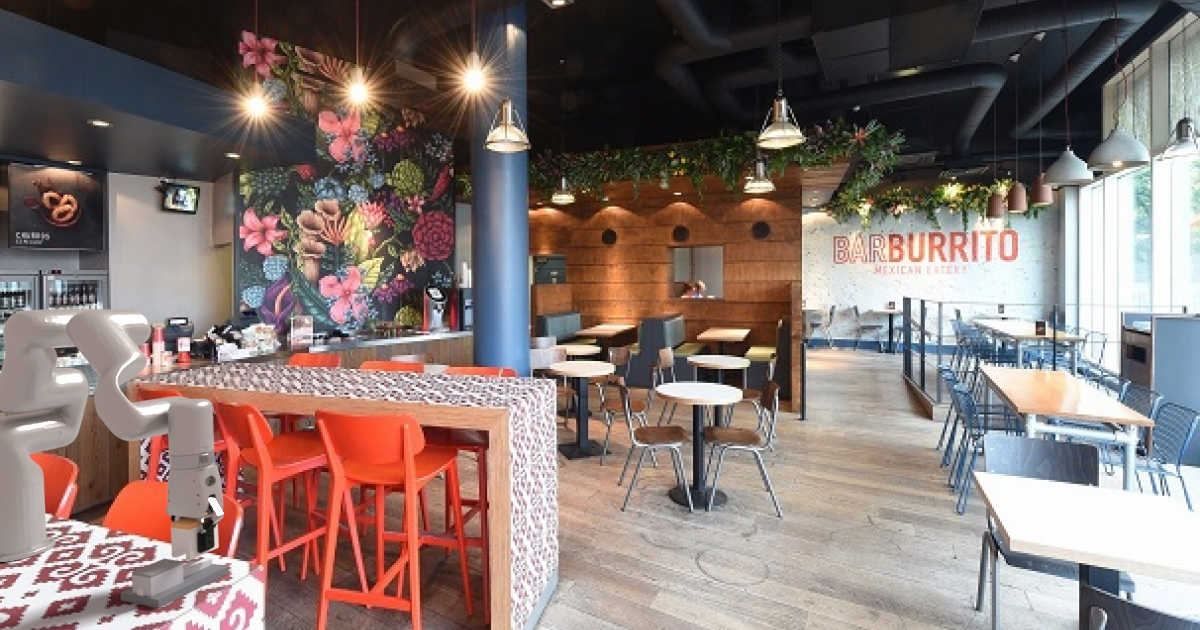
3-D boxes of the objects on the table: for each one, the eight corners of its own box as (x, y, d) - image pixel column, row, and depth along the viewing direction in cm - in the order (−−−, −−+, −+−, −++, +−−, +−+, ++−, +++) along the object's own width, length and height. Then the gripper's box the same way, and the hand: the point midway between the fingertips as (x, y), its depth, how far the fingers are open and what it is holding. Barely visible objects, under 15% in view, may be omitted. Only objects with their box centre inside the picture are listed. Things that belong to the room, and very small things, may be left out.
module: (172, 557, 116) (170, 522, 116) (200, 544, 122) (199, 512, 122) (190, 559, 115) (188, 524, 114) (218, 547, 120) (217, 514, 120)
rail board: (120, 600, 109) (119, 571, 109) (193, 567, 123) (192, 541, 123) (158, 607, 106) (157, 578, 106) (228, 573, 120) (227, 547, 120)
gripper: (240, 458, 119) (243, 545, 119) (180, 453, 124) (183, 537, 124) (205, 468, 112) (209, 561, 112) (143, 462, 117) (146, 551, 117)
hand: (195, 547), depth 118 cm, fingers closed on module, 5 cm apart
